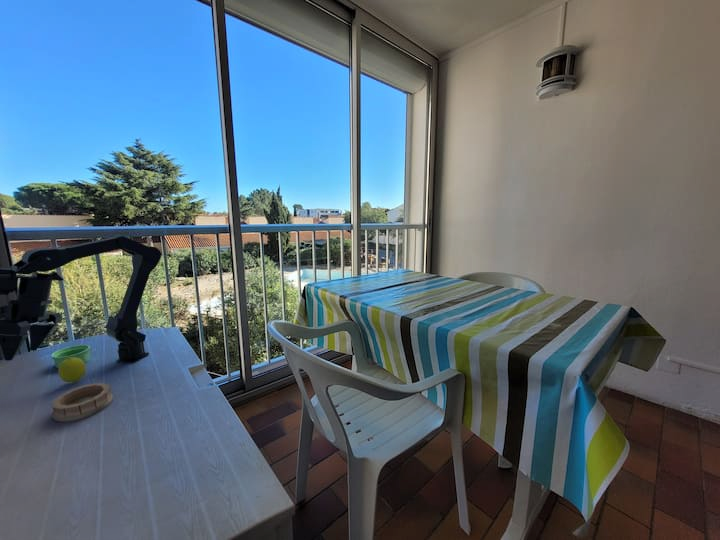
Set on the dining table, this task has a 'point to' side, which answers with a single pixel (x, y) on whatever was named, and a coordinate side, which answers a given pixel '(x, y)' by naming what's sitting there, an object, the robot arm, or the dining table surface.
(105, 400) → the wooden bowl
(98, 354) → the dining table surface
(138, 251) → the robot arm
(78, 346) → the ramekin
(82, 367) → the lemon
